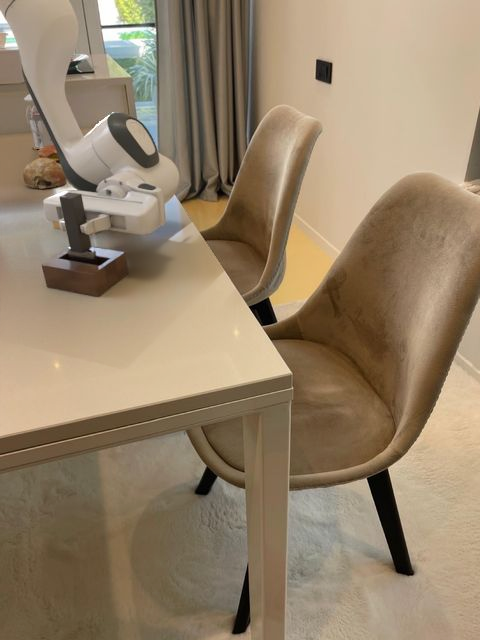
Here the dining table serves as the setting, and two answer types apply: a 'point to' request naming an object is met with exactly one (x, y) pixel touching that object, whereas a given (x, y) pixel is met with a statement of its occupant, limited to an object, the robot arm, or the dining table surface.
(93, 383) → the dining table surface
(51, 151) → the burger
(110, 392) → the dining table surface
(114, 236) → the dining table surface
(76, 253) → the cake knife
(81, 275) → the knife block
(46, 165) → the bread roll
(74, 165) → the robot arm
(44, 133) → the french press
